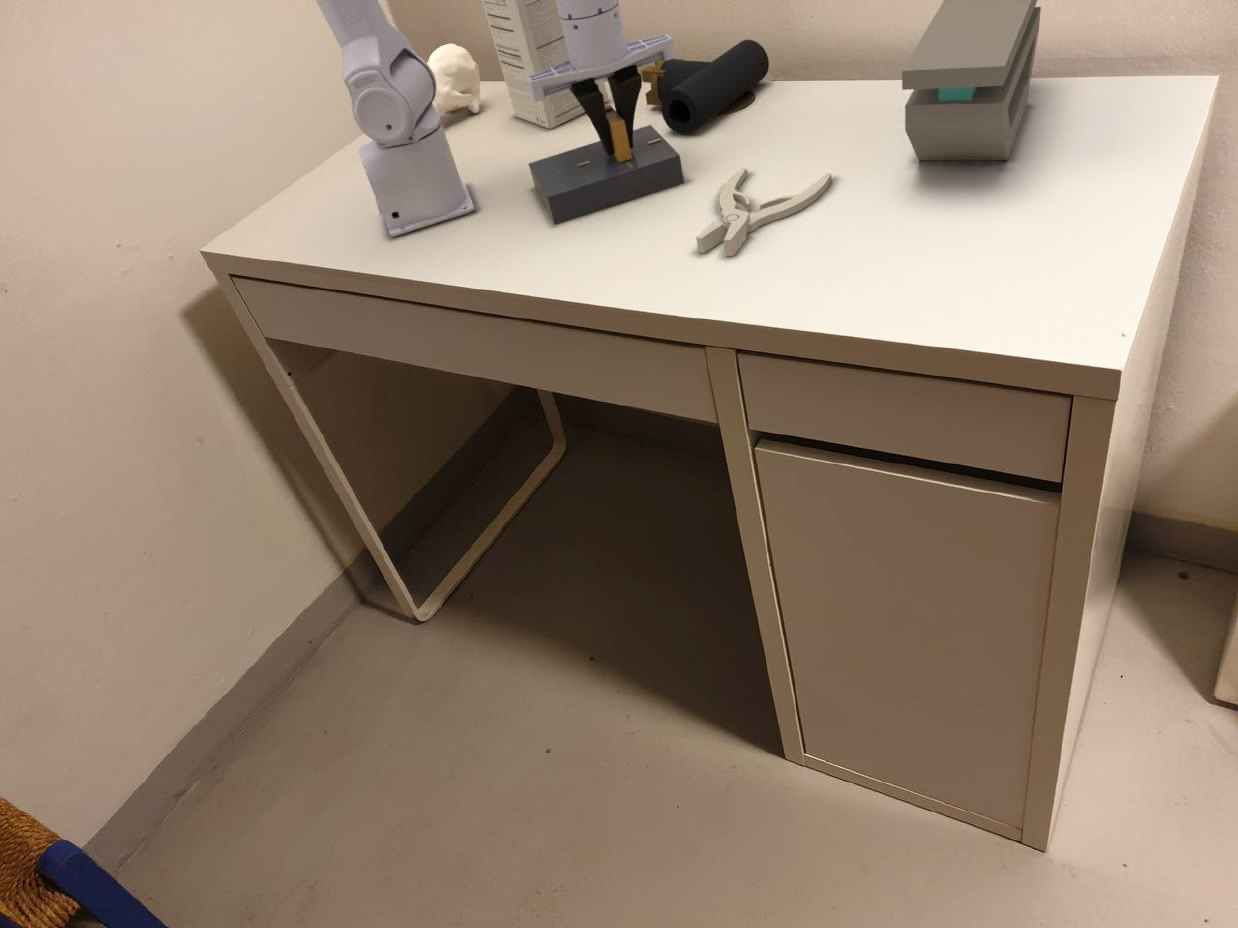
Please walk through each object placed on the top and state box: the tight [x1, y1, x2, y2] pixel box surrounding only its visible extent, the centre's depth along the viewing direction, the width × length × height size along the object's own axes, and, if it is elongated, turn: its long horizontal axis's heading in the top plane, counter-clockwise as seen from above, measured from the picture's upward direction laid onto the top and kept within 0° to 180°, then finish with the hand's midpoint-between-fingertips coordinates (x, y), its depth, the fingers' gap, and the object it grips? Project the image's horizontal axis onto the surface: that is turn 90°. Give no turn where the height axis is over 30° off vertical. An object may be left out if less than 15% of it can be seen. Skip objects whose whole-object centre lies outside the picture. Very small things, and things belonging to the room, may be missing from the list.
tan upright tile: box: [604, 104, 632, 163], centre depth 92 cm, size 5×1×4 cm, turn 15°
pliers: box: [696, 167, 832, 257], centre depth 84 cm, size 10×2×15 cm
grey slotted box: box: [901, 0, 1042, 161], centre depth 84 cm, size 25×8×11 cm, turn 154°
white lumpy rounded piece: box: [426, 43, 481, 116], centre depth 120 cm, size 6×8×12 cm
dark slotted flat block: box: [528, 124, 685, 225], centre depth 95 cm, size 14×10×3 cm
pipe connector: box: [641, 39, 770, 136], centre depth 106 cm, size 12×5×15 cm
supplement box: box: [481, 0, 609, 130], centre depth 111 cm, size 10×9×17 cm
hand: (618, 148), depth 93 cm, fingers closed on tan upright tile
